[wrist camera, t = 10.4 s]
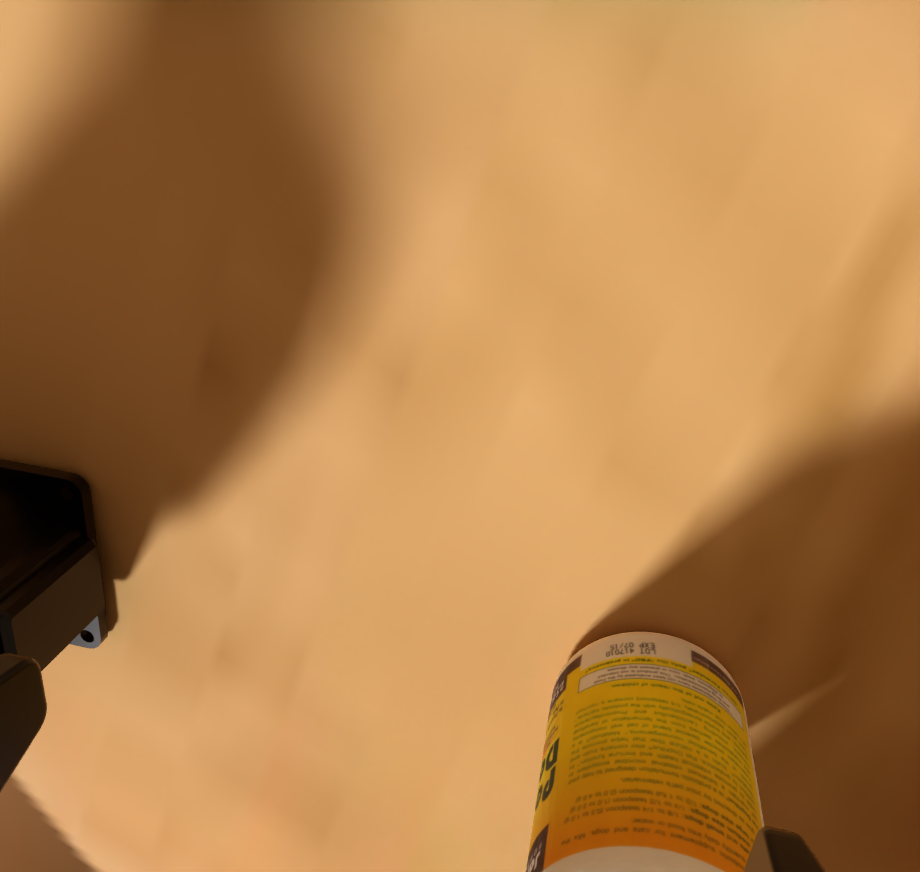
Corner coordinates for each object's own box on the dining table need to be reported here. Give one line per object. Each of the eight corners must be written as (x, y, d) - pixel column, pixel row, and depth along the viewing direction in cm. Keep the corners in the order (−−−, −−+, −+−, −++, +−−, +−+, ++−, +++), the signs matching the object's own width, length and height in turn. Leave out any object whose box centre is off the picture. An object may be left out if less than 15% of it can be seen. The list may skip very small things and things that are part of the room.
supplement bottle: (540, 624, 24) (475, 969, 14) (737, 617, 22) (804, 996, 13) (566, 767, 26) (524, 1149, 17) (748, 770, 24) (814, 1190, 15)
